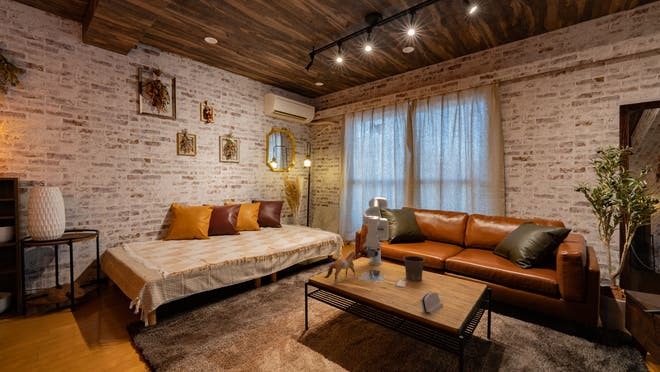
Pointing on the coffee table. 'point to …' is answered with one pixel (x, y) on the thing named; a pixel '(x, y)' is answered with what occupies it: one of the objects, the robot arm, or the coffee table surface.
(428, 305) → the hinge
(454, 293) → the coffee table surface
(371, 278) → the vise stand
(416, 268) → the plant pot
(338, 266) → the horse figurine
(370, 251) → the collar
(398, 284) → the pad
